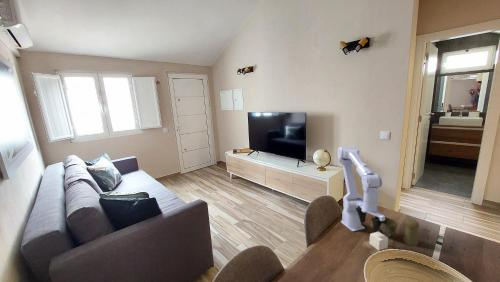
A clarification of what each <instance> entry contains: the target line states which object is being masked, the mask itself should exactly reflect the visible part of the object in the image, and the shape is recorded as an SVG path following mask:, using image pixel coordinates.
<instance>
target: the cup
mask: <svg viewBox="0 0 500 282" xmlns="http://www.w3.org/2000/svg"><path fill="white" fill-rule="evenodd" d="M398 224H399V222H397V220H395V219H393V218H390V217H387V216H385V221H384V222H383V223H382V224H381V225H380V227H379V228H380V230H381V231H382V234H383V235H385V236H386V237H388V238H391V237H392V236H393V235H394V234H395V233H396V232H397V228H398Z"/></svg>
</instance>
